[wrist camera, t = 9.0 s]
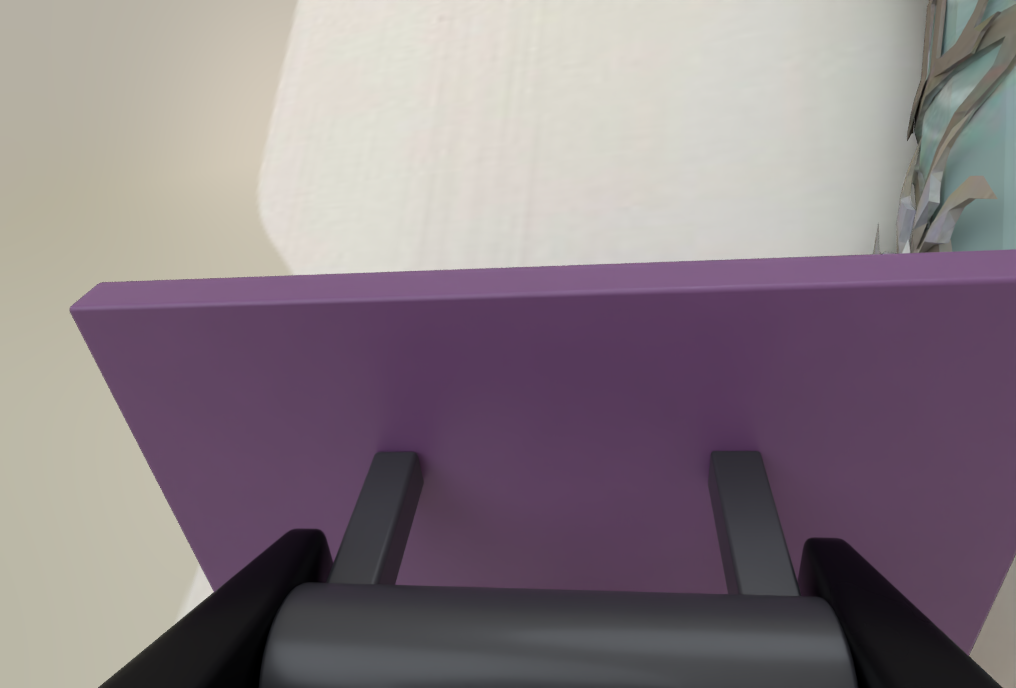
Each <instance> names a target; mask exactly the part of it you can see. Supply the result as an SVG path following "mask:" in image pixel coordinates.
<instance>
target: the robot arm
mask: <svg viewBox="0 0 1016 688" xmlns="http://www.w3.org/2000/svg"><path fill="white" fill-rule="evenodd" d="M332 565H333V559H332V556H331V552H330V549H329V545H328V542H327V539H326V536H325V534H324V532H323V531H322V530H320V529H305V528H295V529H292V530H290V531H288V532H286V533H285V534H284V535H283V536H282V537H280V538H279V539H278V540H277V541H275V542H274V543H273V544H272V545H271V546H269V547H268V548H267V549H266V550H265V551H263V552H262V553H261V554H260V555H258V556H257V557H256V558H255V559H254V560H252V561H251V562H250V563H249V564H248V565H246V566H245V567H244V568H243V569H241V570H240V571H239V572H238V573H237V574H235V575H234V576H233V577H232V578H231V579H229V580H228V581H227V582H226V583H224V584H223V585H222V586H221V587H220V588H218V589H217V590H216V591H215V592H214V593H212V594H211V595H210V596H209V597H208V598H206V599H205V600H204V601H203V602H201V603H200V604H199V605H198V606H197V607H195V608H194V609H193V610H192V611H191V612H189V613H188V614H187V615H186V616H184V617H183V618H182V619H181V620H180V621H178V622H177V623H176V624H175V625H174V626H172V627H171V628H170V629H169V630H167V632H165V633H164V634H163V635H161V636H160V637H159V638H158V639H157V640H155V641H154V642H153V643H152V644H151V645H149V646H148V647H147V648H146V649H144V650H143V651H142V652H141V653H140V654H138V655H137V656H136V657H135V658H134V659H132V660H131V661H130V662H129V663H128V664H126V665H125V666H124V667H123V668H121V669H120V670H119V671H118V672H117V673H115V674H114V675H113V676H112V677H111V678H109V679H108V680H107V681H106V682H104V683H103V684H102V685H101V686H100V687H98V688H259V679H260V670H261V664H262V658H263V653H264V649H265V645H266V641H267V637H268V634H269V631H270V628H271V625H272V623H273V620H274V618H275V615H276V613H277V611H278V609H279V608H280V606H281V604H282V603H283V601H284V600H285V598H286V597H287V595H288V594H289V593H290V592H291V591H292V590H293V589H294V588H295V587H297V586H299V585H301V584H303V583H307V582H314V583H326V581H327V578H328V576H329V573H330V571H331V568H332ZM798 585H799V588H800V592H801V595H802V596H812V597H820V598H823V599H824V600H826V601H827V602H828V603H829V604H830V605H831V607H832V609H833V610H834V612H835V614H836V616H837V618H838V620H839V622H840V624H841V626H842V629H843V631H844V634H845V636H846V638H847V641H848V644H849V647H850V651H851V654H852V658H853V662H854V666H855V671H856V675H857V681H858V687H859V688H1002V687H1001V686H1000V685H999V684H998V683H997V682H996V681H995V680H994V679H993V678H992V677H991V676H990V675H988V674H987V673H986V672H985V671H984V670H983V669H982V668H981V667H980V666H979V665H978V664H977V663H976V662H975V661H974V660H972V659H971V658H970V657H969V656H968V655H967V654H966V653H965V652H964V651H963V650H962V649H961V648H960V647H959V646H957V645H956V644H955V643H954V642H953V641H952V640H951V639H950V638H949V637H948V636H947V635H946V634H945V633H944V632H943V631H941V630H940V629H939V628H938V627H937V626H936V625H935V624H934V623H933V622H932V621H931V620H930V619H929V618H928V617H927V616H925V615H924V614H923V613H922V612H921V611H920V610H919V609H918V608H917V607H916V606H915V605H914V604H913V603H912V602H911V601H909V600H908V599H907V598H906V597H905V596H904V595H903V594H902V593H901V592H900V591H899V590H898V589H897V588H896V587H895V586H893V585H892V584H891V583H890V582H889V581H888V580H887V579H886V578H885V577H884V576H883V575H882V574H881V573H880V572H878V571H877V570H876V569H875V568H874V567H873V566H872V565H871V564H870V563H869V562H868V561H867V560H866V559H865V558H864V557H862V556H861V555H860V554H859V553H858V552H857V551H856V550H855V549H854V548H853V547H852V546H851V545H850V544H849V543H847V542H846V541H844V540H843V539H840V538H823V537H811V538H808V539H807V540H806V541H805V543H804V546H803V551H802V557H801V563H800V569H799V575H798Z"/></svg>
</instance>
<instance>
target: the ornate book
mask: <svg viewBox="0 0 1016 688" xmlns="http://www.w3.org/2000/svg"><path fill="white" fill-rule="evenodd" d="M914 118H915V121H914ZM913 128H914V132H915V135H916V139H917V143H918V147H917V149H916V152H915V154H914V156H913V159H912V161H911V164H910V166H909V168H908V171H907V174H906V178H905V182H904V185H903V189H902V192H901V196H900V204H899V211H898V217H897V224H896V225H897V254H900V253H927V252H955V251H982V250H1010V249H1016V0H929V3H928V6H927V14H926V27H925V39H924V51H923V63H922V75H921V81H920V84H919V87H918V90H917V93H916V96H915V99H914V103H913V107H912V111H911V116H910V122H909V127H908V133H907V141H908V139H909V137H910V135H911V134H912V133H913ZM918 151H919V152H918ZM917 155H918V156H917ZM916 159H917V160H916ZM915 163H916V164H915ZM912 183H913V184H914V187H915V202H916V209H915V208H914V207H913V206H912V202H911V197H910V193H911V184H912ZM915 215H916V216H915ZM914 219H915V221H914ZM913 223H914V226H913ZM912 227H913V231H912ZM911 232H912V239H911V248H910V247H909V240H910V236H911ZM873 254H880V251H879V223H878V229H877V235H876V241H875V247H874V253H873ZM883 254H894V253H889V252H884V253H883Z"/></svg>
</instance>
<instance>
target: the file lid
mask: <svg viewBox="0 0 1016 688" xmlns="http://www.w3.org/2000/svg"><path fill="white" fill-rule="evenodd" d="M70 313H71V315H72V317H73V319H74V321H75V323H76V324H77V327H78V328H79V330H80V332H81V334H82V336H83V338H84V340H85V342H86V344H87V346H88V348H89V350H90V352H91V354H92V355H93V357H94V359H95V362H96V363H97V365H98V367H99V369H100V371H101V373H102V375H103V377H104V379H105V381H106V383H107V385H108V387H109V389H110V391H111V393H112V395H113V397H114V398H115V400H116V402H117V404H118V406H119V408H120V410H121V412H122V414H123V416H124V418H125V420H126V422H127V424H128V426H129V428H130V430H131V432H132V433H133V435H134V437H135V439H136V441H137V443H138V445H139V447H140V449H141V451H142V453H143V455H144V457H145V458H146V460H147V463H148V465H149V467H150V469H151V470H152V472H153V474H154V476H155V478H156V480H157V482H158V484H159V486H160V488H161V490H162V492H163V493H164V496H165V498H166V500H167V502H168V504H169V505H170V507H171V509H172V511H173V513H174V515H175V517H176V519H177V521H178V523H179V525H180V527H181V529H182V531H183V533H184V534H185V537H186V539H187V540H188V542H189V544H190V546H191V548H192V550H193V552H194V554H195V556H196V558H197V560H198V562H199V564H200V566H201V568H202V570H203V572H204V574H205V575H206V577H207V579H208V581H209V583H210V585H211V587H212V589H213V591H214V592H215V591H216V590H217V589H218V588H220V587H221V586H222V585H223V584H224V583H226V582H227V581H228V580H229V579H231V578H232V577H233V576H234V575H235V574H237V573H238V572H239V571H240V570H241V569H243V568H244V567H245V566H246V565H248V564H249V563H250V562H251V561H252V560H254V559H255V558H256V557H257V556H258V555H260V554H261V553H262V552H263V551H265V550H266V549H267V548H268V547H269V546H271V545H272V544H273V543H274V542H275V541H277V540H278V539H279V538H280V537H282V536H283V535H284V534H285V533H286V532H288V531H290V530H292V529H295V528H305V529H320V530H322V531H323V532H324V534H325V536H326V539H327V542H328V545H329V549H330V552H331V556H332V559H333V565H332V568H331V571H330V573H329V576H328V578H327V581H326V583H314V582H307V583H303V584H301V585H299V586H297V587H295V588H294V589H293V590H292V591H291V592H290V593H289V594H288V595H287V597H286V598H285V600H284V601H283V603H282V604H281V606H280V608H279V609H278V611H277V613H276V615H275V618H274V620H273V623H272V625H271V628H270V631H269V634H268V637H267V641H266V645H265V649H264V653H263V658H262V664H261V670H260V679H259V688H859V687H858V681H857V675H856V671H855V666H854V662H853V658H852V654H851V651H850V647H849V644H848V641H847V638H846V636H845V634H844V631H843V629H842V626H841V624H840V622H839V620H838V618H837V616H836V614H835V612H834V610H833V609H832V607H831V605H830V604H829V603H828V602H827V601H826V600H824V599H823V598H820V597H812V596H802V595H801V592H800V588H799V585H798V575H799V569H800V563H801V557H802V551H803V546H804V543H805V541H806V540H807V539H808V538H811V537H823V538H840V539H843V540H844V541H846V542H847V543H849V544H850V545H851V546H852V547H853V548H854V549H855V550H856V551H857V552H858V553H859V554H860V555H861V556H862V557H864V558H865V559H866V560H867V561H868V562H869V563H870V564H871V565H872V566H873V567H874V568H875V569H876V570H877V571H878V572H880V573H881V574H882V575H883V576H884V577H885V578H886V579H887V580H888V581H889V582H890V583H891V584H892V585H893V586H895V587H896V588H897V589H898V590H899V591H900V592H901V593H902V594H903V595H904V596H905V597H906V598H907V599H908V600H909V601H911V602H912V603H913V604H914V605H915V606H916V607H917V608H918V609H919V610H920V611H921V612H922V613H923V614H924V615H925V616H927V617H928V618H929V619H930V620H931V621H932V622H933V623H934V624H935V625H936V626H937V627H938V628H939V629H940V630H941V631H943V632H944V633H945V634H946V635H947V636H948V637H949V638H950V639H951V640H952V641H953V642H954V643H955V644H956V645H957V646H959V647H960V648H961V649H962V650H963V651H964V652H965V653H966V654H967V655H968V656H969V655H970V652H971V650H972V648H973V646H974V644H975V642H976V639H977V637H978V635H979V633H980V631H981V629H982V626H983V624H984V622H985V620H986V618H987V616H988V613H989V611H990V609H991V607H992V605H993V603H994V600H995V598H996V596H997V594H998V592H999V590H1000V587H1001V585H1002V583H1003V581H1004V579H1005V577H1006V574H1007V572H1008V570H1009V568H1010V566H1011V564H1012V561H1013V559H1014V557H1015V555H1016V249H1010V250H982V251H955V252H927V253H900V254H872V255H844V256H817V257H789V258H762V259H734V260H706V261H679V262H651V263H624V264H596V265H568V266H541V267H513V268H486V269H458V270H430V271H403V272H375V273H348V274H320V275H292V276H265V277H238V278H210V279H183V280H155V281H130V282H129V281H127V282H102V283H99V284H97V285H96V286H95V287H94V288H92V289H91V290H90V291H89V292H88V293H86V294H85V295H84V296H83V297H82V298H80V299H79V300H78V301H77V302H75V303H74V304H73V305H72V306H71V307H70Z"/></svg>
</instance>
